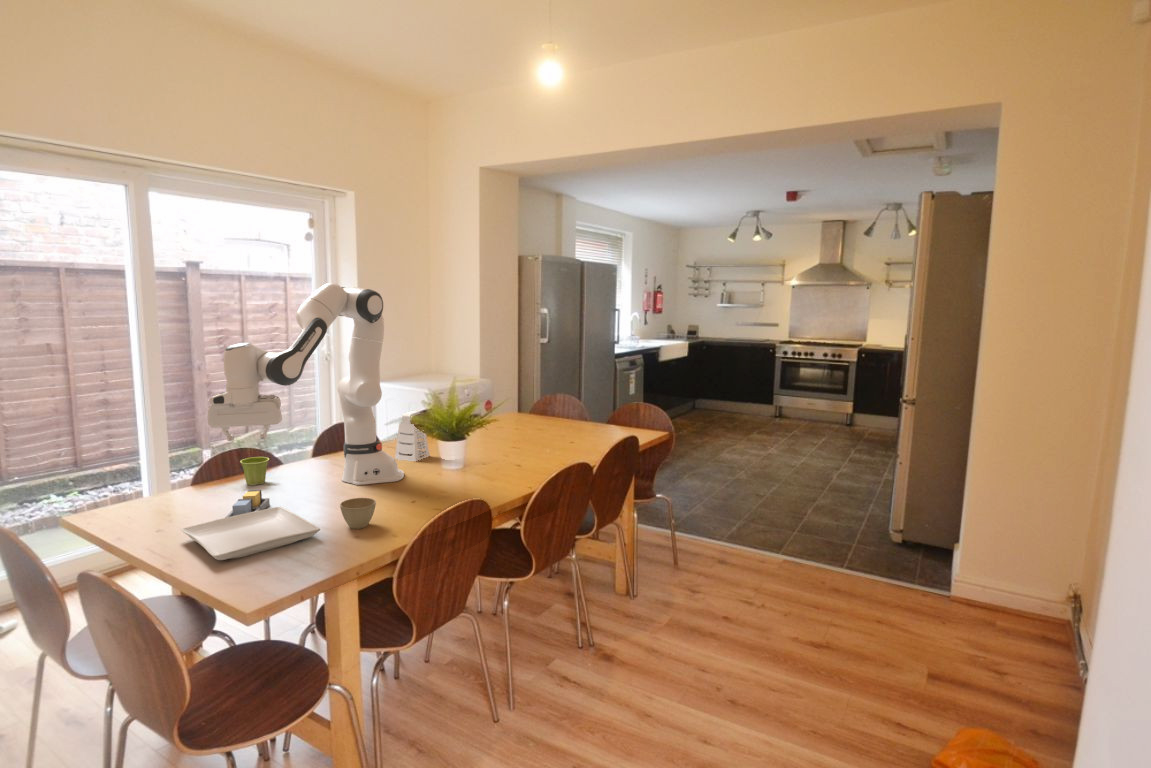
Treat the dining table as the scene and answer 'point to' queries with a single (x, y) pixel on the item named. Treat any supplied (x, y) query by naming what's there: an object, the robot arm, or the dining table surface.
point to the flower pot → (358, 511)
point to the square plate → (250, 532)
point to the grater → (410, 440)
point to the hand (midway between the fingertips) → (247, 439)
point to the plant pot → (255, 469)
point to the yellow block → (254, 497)
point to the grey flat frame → (256, 507)
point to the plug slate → (242, 506)
